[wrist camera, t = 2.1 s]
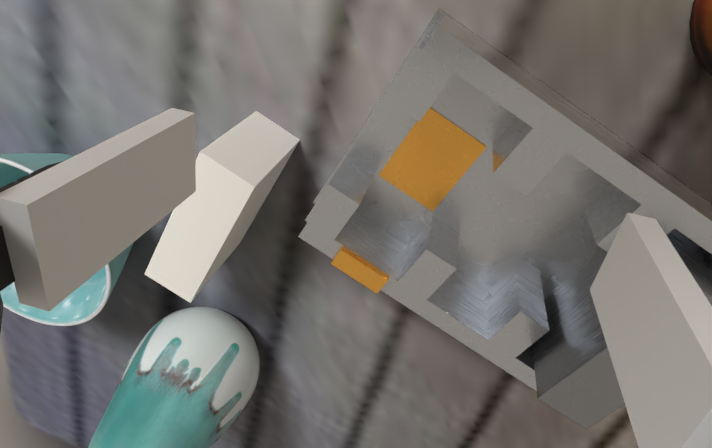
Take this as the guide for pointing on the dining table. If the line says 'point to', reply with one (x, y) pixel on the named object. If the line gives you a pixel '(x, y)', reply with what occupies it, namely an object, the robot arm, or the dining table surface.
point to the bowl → (90, 293)
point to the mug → (702, 32)
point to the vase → (182, 383)
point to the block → (220, 204)
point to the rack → (498, 214)
